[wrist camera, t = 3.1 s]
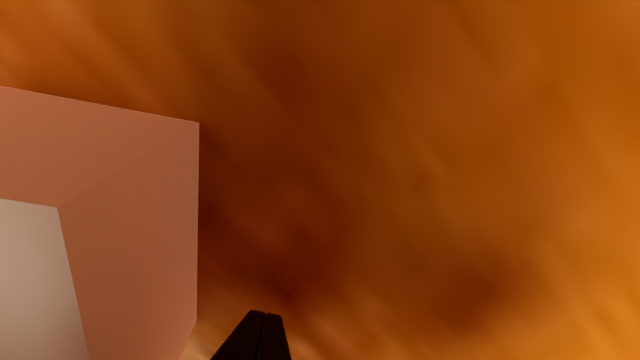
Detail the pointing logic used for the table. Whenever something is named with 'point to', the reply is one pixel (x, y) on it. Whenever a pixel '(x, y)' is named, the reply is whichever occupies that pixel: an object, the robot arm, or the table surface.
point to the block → (95, 230)
